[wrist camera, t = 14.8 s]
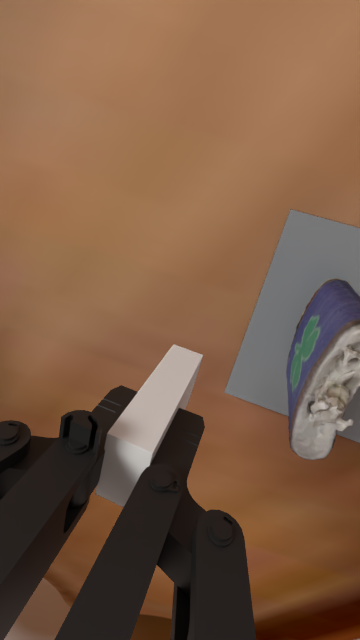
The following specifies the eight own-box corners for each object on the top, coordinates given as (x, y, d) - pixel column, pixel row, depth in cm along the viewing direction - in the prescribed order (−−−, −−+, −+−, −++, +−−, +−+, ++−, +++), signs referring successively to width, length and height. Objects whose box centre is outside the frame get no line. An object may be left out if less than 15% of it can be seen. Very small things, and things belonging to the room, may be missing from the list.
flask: (311, 388, 27) (327, 494, 18) (276, 376, 28) (272, 472, 18) (360, 282, 24) (415, 344, 14) (319, 271, 24) (343, 322, 14)
